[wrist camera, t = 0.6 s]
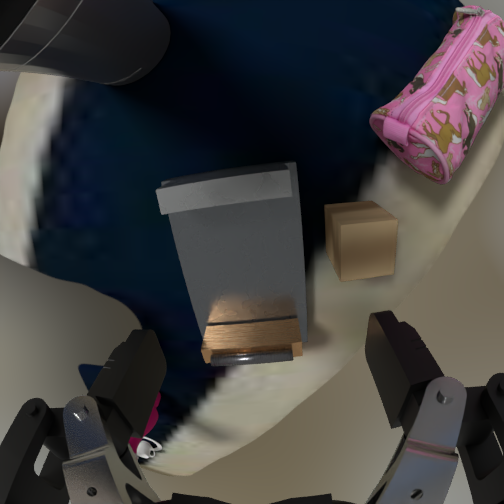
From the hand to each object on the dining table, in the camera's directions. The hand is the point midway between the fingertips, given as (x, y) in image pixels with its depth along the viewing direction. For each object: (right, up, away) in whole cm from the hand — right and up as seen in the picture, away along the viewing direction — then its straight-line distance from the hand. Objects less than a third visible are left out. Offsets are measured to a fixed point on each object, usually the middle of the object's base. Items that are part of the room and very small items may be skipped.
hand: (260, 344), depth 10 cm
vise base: (-1, +2, +19) cm, 19 cm away
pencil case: (+19, +21, +10) cm, 30 cm away
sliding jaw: (0, -5, +20) cm, 21 cm away
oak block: (+9, +6, +17) cm, 20 cm away
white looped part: (-25, -37, +38) cm, 59 cm away
